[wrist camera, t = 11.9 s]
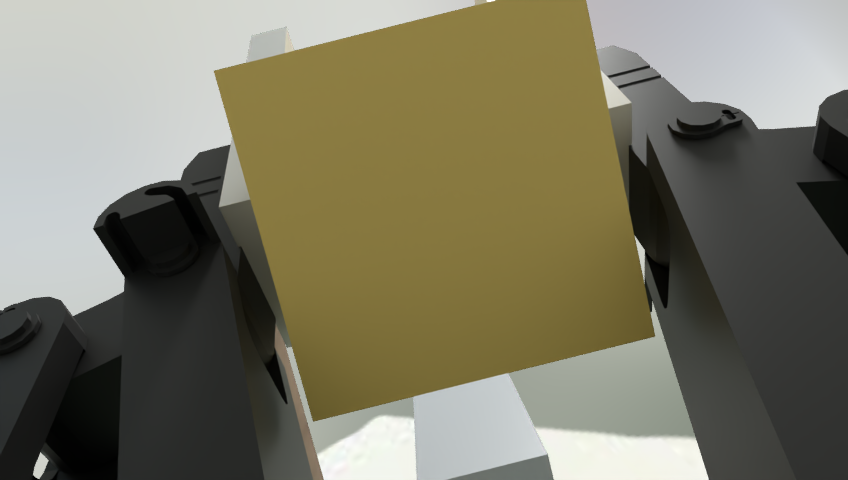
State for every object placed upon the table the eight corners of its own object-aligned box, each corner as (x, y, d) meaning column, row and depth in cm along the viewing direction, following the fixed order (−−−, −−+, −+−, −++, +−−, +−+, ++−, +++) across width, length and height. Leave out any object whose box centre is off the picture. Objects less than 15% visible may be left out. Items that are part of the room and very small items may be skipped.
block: (313, 421, 7) (213, 70, 7) (384, 216, 33) (364, 139, 33) (655, 336, 7) (581, -22, 7) (460, 197, 33) (441, 120, 33)
